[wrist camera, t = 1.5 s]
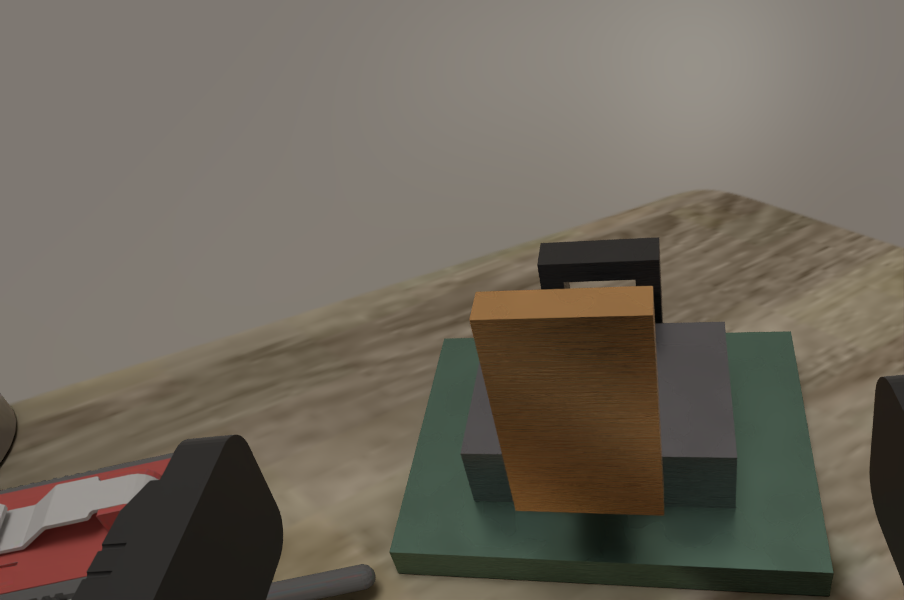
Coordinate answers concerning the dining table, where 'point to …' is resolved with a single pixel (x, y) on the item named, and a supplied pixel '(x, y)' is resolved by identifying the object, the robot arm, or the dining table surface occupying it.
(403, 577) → the dining table surface
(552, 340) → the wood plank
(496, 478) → the green tiered platform
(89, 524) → the walkie-talkie
